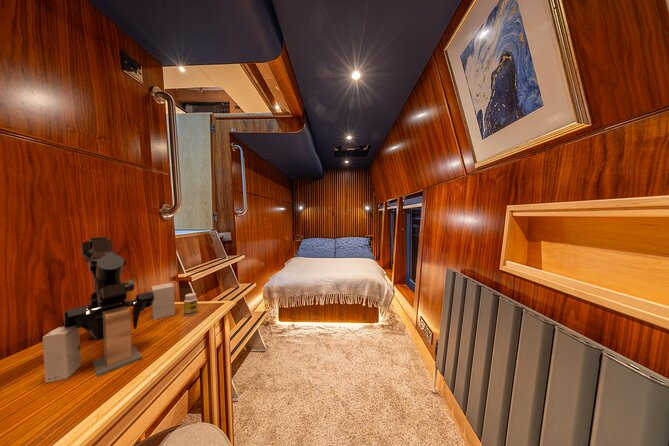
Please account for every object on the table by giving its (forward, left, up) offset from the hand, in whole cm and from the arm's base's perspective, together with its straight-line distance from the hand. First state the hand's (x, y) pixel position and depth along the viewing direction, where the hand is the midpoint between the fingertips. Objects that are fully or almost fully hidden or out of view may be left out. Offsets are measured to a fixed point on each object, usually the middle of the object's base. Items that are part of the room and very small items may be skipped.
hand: (117, 333), depth 63 cm
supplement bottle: (+9, +31, -9) cm, 33 cm away
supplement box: (-2, +33, -9) cm, 34 cm away
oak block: (-1, +1, -8) cm, 8 cm away
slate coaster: (-1, +1, -9) cm, 9 cm away
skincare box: (-11, -1, -9) cm, 15 cm away
